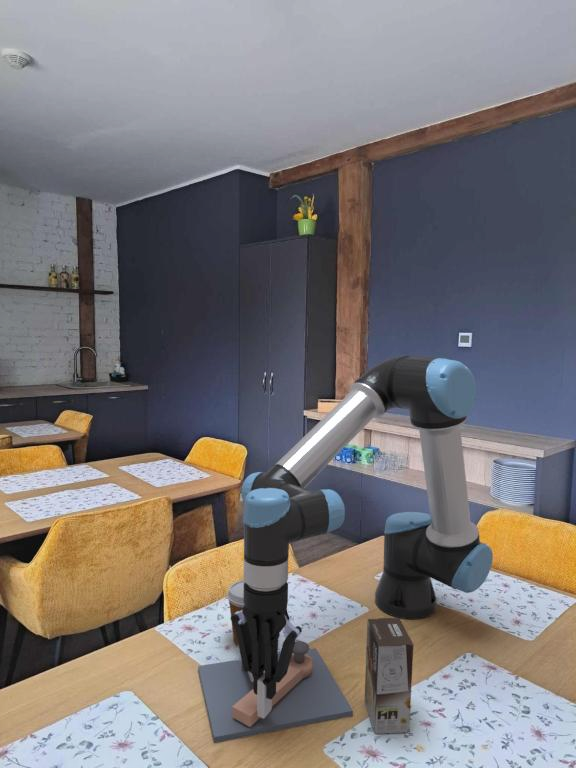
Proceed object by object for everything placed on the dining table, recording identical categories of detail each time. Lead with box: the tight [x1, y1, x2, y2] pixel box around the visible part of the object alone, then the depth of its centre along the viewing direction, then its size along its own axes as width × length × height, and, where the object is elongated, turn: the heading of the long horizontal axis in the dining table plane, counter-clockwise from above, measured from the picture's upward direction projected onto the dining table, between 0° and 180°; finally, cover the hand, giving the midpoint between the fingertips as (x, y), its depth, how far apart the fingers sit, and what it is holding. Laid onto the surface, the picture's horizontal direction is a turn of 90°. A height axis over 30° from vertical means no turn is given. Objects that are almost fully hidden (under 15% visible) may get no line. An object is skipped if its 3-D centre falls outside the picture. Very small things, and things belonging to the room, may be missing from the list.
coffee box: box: [364, 617, 414, 735], centre depth 99 cm, size 9×6×16 cm
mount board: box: [197, 647, 354, 744], centre depth 105 cm, size 25×20×1 cm
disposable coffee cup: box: [226, 579, 251, 647], centre depth 121 cm, size 10×10×12 cm
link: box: [232, 640, 313, 727], centre depth 103 cm, size 21×5×5 cm, turn 145°
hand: (264, 712), depth 96 cm, fingers closed
